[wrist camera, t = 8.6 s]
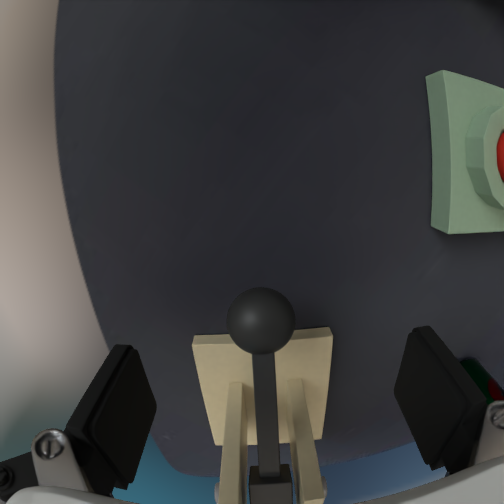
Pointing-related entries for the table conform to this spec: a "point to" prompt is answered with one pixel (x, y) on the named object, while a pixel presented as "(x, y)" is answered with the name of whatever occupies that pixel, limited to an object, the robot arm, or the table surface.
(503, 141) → the button
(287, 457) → the table surface
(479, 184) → the control block
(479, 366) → the soda can
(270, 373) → the ball knob handle
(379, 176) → the table surface
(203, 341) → the lever bracket
